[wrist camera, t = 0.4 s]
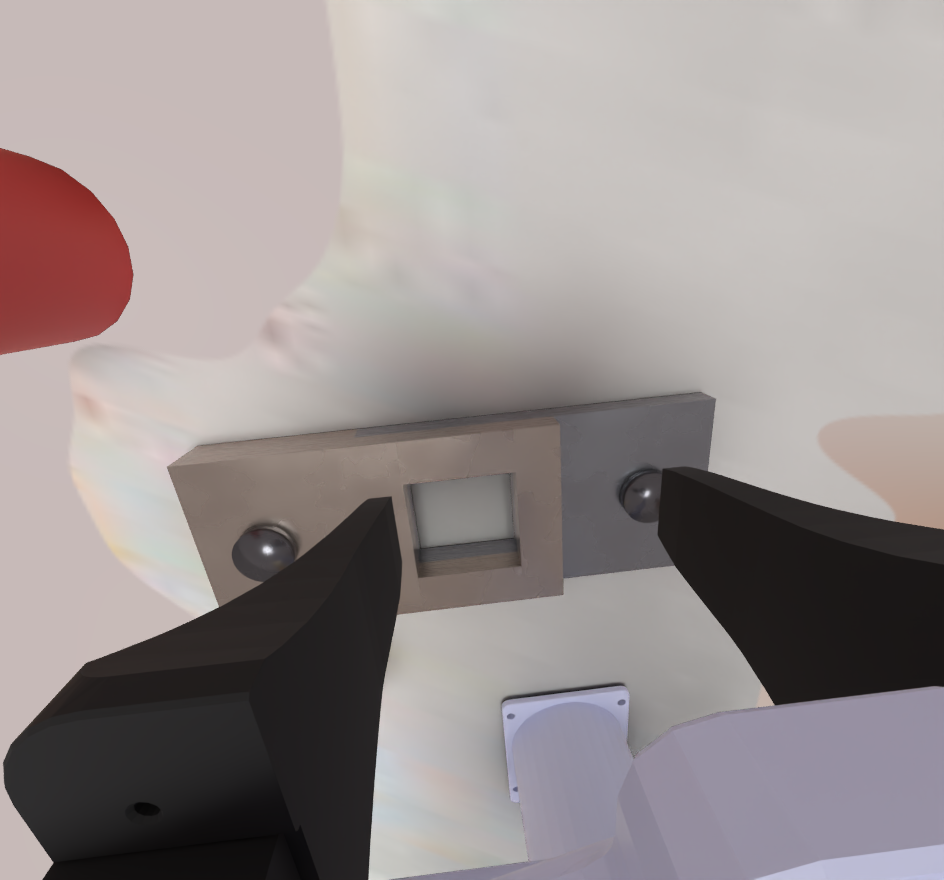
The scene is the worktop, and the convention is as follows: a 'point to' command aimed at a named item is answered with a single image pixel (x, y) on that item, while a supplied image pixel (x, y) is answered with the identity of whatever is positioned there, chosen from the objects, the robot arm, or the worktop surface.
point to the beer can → (56, 258)
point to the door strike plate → (444, 458)
